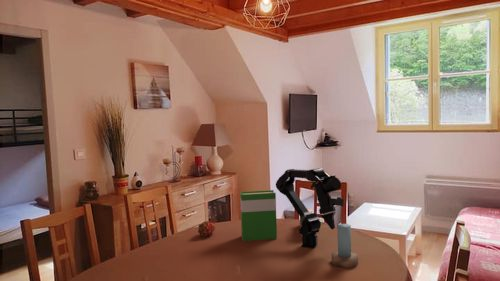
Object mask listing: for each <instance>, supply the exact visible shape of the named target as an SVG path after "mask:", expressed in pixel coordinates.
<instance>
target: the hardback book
mask: <svg viewBox="0 0 500 281" xmlns="http://www.w3.org/2000/svg"><path fill="white" fill-rule="evenodd" d="M239 193H240V194H239V198H240V222H241V224H240V225H241V239H242V241H243V242H248V241H249V242H251V241H263V240H277V238H278V230H277V225H278V224H277V195H276V194H277V192H274V190H273V189H272V190H270V189H269V190H268V189H267V190H266V189H265V190H252V191H240V192H239Z"/></svg>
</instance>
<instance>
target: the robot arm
mask: <svg viewBox="0 0 500 281" xmlns="http://www.w3.org/2000/svg"><path fill="white" fill-rule="evenodd" d="M296 178H297V179H305V180H307V181H309V182H312V184H311V186H310V188H311V189H314V192H315V194H316V198H317V199H316V200H317V202H318V205H319V210H318V212H319V215H320V216H321V218H322V219H323V221H324V222H325V223H326V224H327V226H329V228H330V229H331V230H334V229H335V228H336V225H335V224H336V223H335V214H336V213H337V210H336V207H335V206H340V207H345V198H342V197H340V196H337V197H336V198H332V196H331V194H330V193H333V192H335V191H339V190H340V189H341V188H342V182H341V180H340V179H339V177H336V175H335V174H333V175H332V174H331V175H329V174H328V173H327V172H325V170H324V168H322V167H319V168H313V169H294V168H289V169H286V170H285V171H284V173H283V174H281V176H280V177H278V179H277V180H276V182H275V187H276V189H277V190H278V192H279V193H281V194H282V195H284V196H286V198H287V200H288V201H289V202H290V204H291V205H292V207H293V208H294V210H295V212H296V213H297V214H298V216H299V218H300V217H301V225H302V226H301V227H300V226H299V229H298V231H299V235H300V234H302V237H301V239H302V240H301V241H302V243H301V245H300V246H301V248H309V249H315V248H316V247H317V246H318V240H319V239H318V236H317V233H320V229H321V226H322V224H321V221H320V218H319V217H318V216H317V213H316V212H312V213H310V212H309V211H308V210H307V207H306V205H305V204H304V202H303V201H302V199H300V196H298V194H297V192H296V190H295V185H294V184H295V181H296Z"/></svg>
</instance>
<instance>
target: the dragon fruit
mask: <svg viewBox="0 0 500 281" xmlns="http://www.w3.org/2000/svg"><path fill="white" fill-rule="evenodd" d="M214 225H215V224H214V223H212V222H211V221H209V220H206V221H204V222H202V223H201V224H199V225H198V229H197V230H198V231H197V234H198V233H199V235H200V236H203V237H205V238H207V237H208V236H213V233H214V232H215V230H216V228H215V226H214Z"/></svg>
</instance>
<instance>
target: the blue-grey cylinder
mask: <svg viewBox="0 0 500 281" xmlns="http://www.w3.org/2000/svg"><path fill="white" fill-rule="evenodd" d="M336 226H337V251H338V256H339V257H342V258H349V257H351V252H352V228H351V226H352V225H350V224H347V223H339V224H337V225H336Z"/></svg>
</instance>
